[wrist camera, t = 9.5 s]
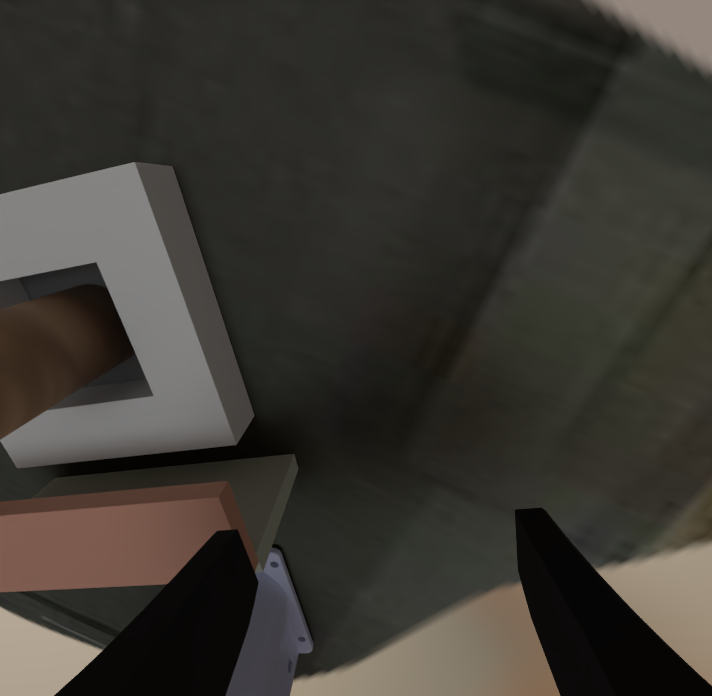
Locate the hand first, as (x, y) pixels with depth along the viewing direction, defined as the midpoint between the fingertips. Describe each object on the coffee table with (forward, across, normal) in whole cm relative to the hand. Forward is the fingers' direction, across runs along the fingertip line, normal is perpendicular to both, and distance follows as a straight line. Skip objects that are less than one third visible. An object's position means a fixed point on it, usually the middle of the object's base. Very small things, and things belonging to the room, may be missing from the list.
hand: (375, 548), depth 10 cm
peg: (+9, +13, -5) cm, 17 cm away
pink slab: (+9, +13, +2) cm, 16 cm away
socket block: (+9, +13, -5) cm, 17 cm away
